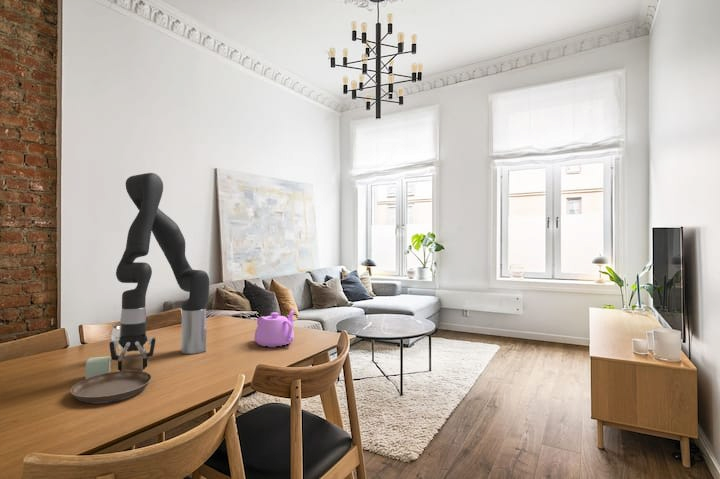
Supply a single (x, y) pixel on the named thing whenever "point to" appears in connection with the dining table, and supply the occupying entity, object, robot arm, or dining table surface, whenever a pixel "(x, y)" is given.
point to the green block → (97, 366)
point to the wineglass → (116, 335)
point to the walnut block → (132, 362)
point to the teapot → (274, 330)
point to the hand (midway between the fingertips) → (132, 369)
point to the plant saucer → (111, 386)
